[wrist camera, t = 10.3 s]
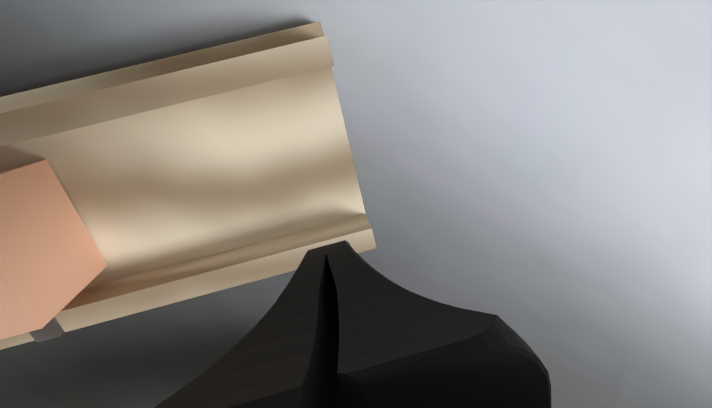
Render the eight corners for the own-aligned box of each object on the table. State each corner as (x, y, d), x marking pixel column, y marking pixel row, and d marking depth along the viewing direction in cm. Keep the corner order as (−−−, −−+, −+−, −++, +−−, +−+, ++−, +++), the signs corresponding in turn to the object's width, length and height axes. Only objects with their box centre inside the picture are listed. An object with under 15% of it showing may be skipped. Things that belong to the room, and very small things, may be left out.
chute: (369, 236, 21) (380, 263, 18) (-25, 342, 20) (-84, 390, 17) (319, 24, 17) (322, 13, 14) (-189, 144, 16) (-307, 161, 13)
